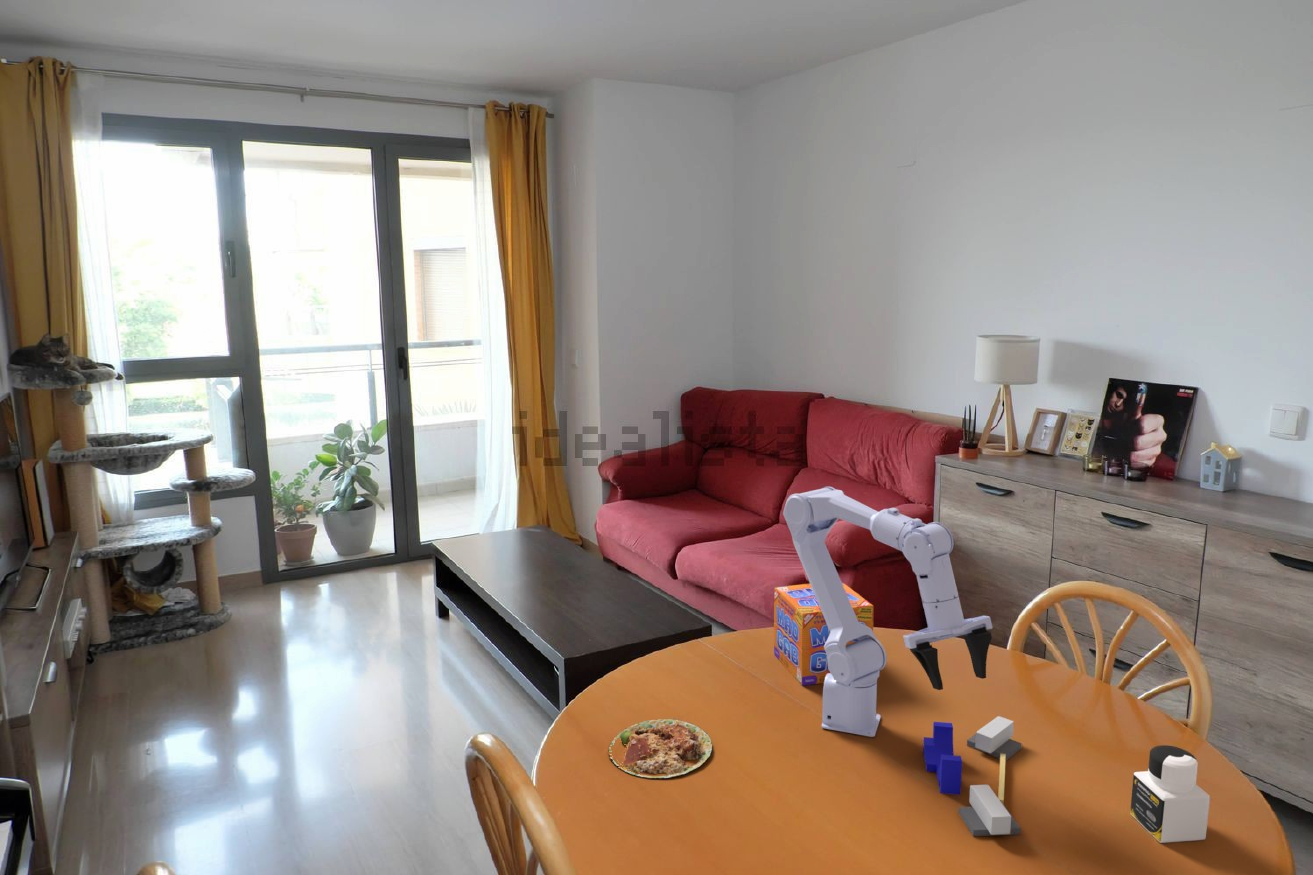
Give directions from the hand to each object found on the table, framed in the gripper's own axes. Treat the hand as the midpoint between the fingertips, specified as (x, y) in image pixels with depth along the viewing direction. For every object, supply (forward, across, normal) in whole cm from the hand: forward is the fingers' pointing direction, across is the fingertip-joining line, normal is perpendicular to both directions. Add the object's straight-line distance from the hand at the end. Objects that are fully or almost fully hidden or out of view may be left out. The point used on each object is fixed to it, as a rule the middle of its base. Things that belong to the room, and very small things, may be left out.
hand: (959, 682), depth 140 cm
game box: (+2, -7, +46) cm, 47 cm away
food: (+5, -47, +22) cm, 52 cm away
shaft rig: (+17, +2, +2) cm, 17 cm away
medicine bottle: (+24, +20, -13) cm, 34 cm away
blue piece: (+15, -4, +6) cm, 17 cm away
